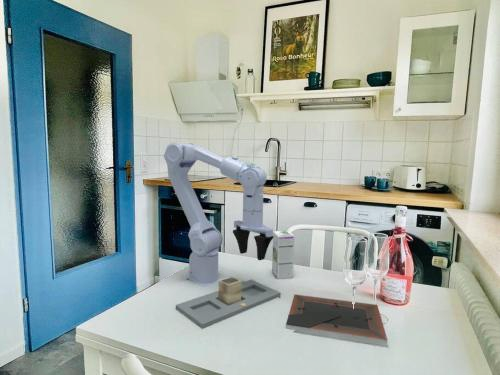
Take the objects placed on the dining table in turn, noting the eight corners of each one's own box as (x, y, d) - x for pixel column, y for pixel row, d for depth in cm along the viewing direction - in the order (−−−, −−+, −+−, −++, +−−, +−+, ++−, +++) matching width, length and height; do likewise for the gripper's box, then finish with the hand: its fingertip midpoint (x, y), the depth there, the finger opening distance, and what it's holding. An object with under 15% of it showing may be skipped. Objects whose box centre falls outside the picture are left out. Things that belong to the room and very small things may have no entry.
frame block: (218, 302, 86) (218, 280, 85) (231, 297, 89) (231, 276, 88) (227, 307, 83) (228, 284, 82) (241, 302, 86) (241, 280, 85)
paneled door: (175, 311, 82) (175, 303, 82) (251, 284, 99) (251, 278, 99) (202, 331, 73) (202, 323, 73) (280, 298, 90) (280, 291, 90)
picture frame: (285, 334, 74) (386, 350, 69) (285, 323, 74) (387, 339, 68) (294, 302, 90) (376, 313, 85) (294, 293, 90) (377, 303, 84)
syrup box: (293, 278, 105) (295, 234, 103) (276, 279, 104) (277, 235, 102) (287, 271, 111) (289, 230, 109) (271, 272, 109) (272, 230, 108)
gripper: (226, 207, 95) (225, 252, 96) (260, 215, 84) (259, 265, 86) (244, 205, 100) (243, 248, 101) (278, 212, 89) (277, 260, 90)
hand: (252, 256), depth 94 cm, fingers open, 7 cm apart
